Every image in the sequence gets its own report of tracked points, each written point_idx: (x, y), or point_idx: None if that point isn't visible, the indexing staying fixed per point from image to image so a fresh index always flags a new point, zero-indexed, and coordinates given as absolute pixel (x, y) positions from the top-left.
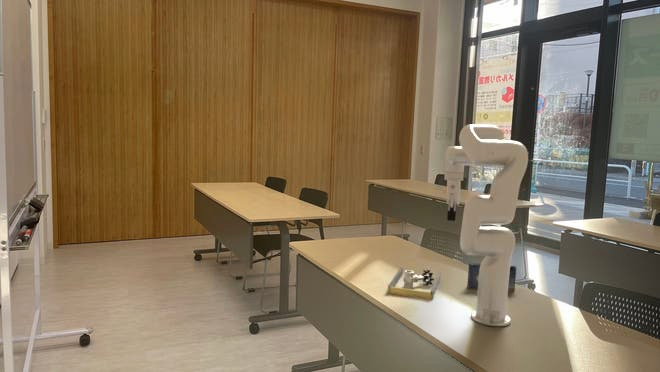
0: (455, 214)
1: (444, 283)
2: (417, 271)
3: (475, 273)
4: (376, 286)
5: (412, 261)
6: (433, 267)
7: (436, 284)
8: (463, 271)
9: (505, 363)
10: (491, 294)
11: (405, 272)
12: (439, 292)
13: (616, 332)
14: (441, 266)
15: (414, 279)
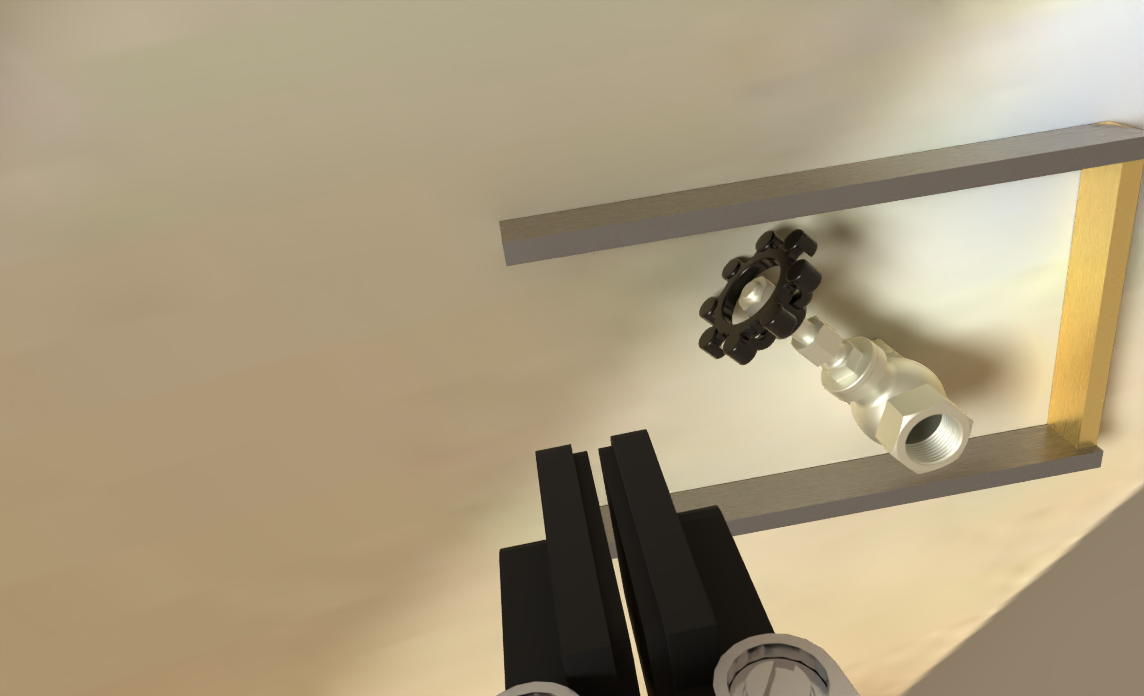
0: (685, 543)
1: (621, 148)
2: (392, 453)
3: None
4: (940, 543)
5: (95, 587)
6: (146, 381)
7: (884, 174)
8: (40, 71)
9: None
10: None
11: (957, 455)
12: (904, 120)
13: None
14: (39, 328)
15: (888, 365)
